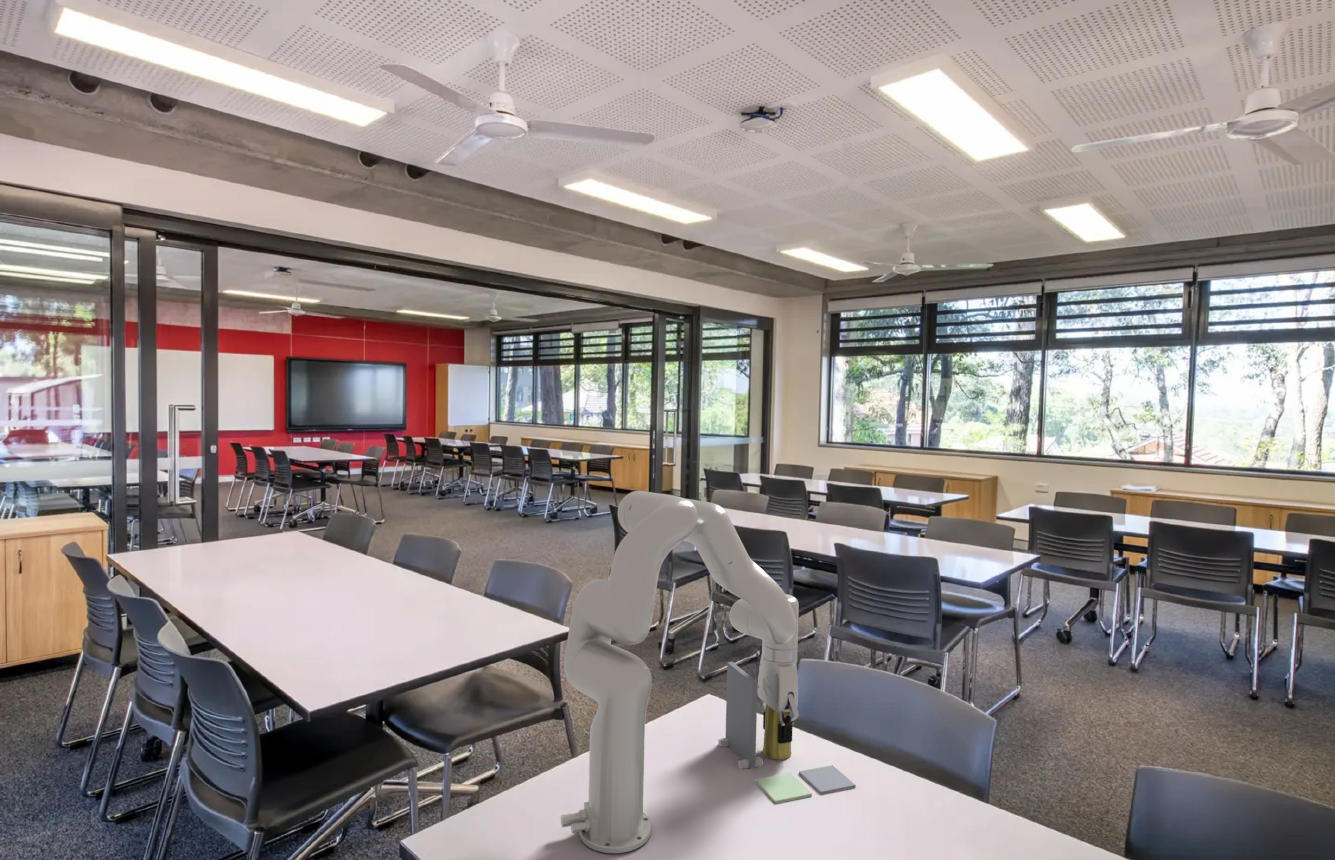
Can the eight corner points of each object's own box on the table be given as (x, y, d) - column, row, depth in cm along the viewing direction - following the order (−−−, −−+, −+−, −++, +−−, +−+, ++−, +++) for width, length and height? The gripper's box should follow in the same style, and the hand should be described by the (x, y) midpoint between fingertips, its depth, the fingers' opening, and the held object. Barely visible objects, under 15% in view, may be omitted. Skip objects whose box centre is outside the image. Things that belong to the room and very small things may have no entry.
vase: (793, 760, 146) (795, 693, 146) (764, 759, 147) (766, 693, 146) (788, 746, 153) (790, 682, 152) (760, 745, 153) (762, 681, 152)
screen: (741, 769, 142) (744, 683, 142) (717, 743, 153) (719, 662, 153) (763, 765, 144) (765, 680, 144) (737, 739, 155) (739, 660, 155)
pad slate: (820, 794, 134) (820, 791, 134) (799, 773, 141) (799, 771, 141) (855, 787, 136) (855, 784, 136) (832, 767, 144) (832, 765, 144)
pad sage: (775, 803, 130) (775, 800, 130) (755, 781, 138) (755, 779, 138) (811, 795, 133) (811, 793, 133) (790, 775, 141) (790, 772, 140)
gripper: (745, 641, 156) (743, 720, 156) (784, 668, 140) (782, 756, 140) (775, 638, 158) (773, 716, 159) (816, 664, 142) (813, 751, 143)
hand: (777, 734), depth 149 cm, fingers closed on vase, 5 cm apart
